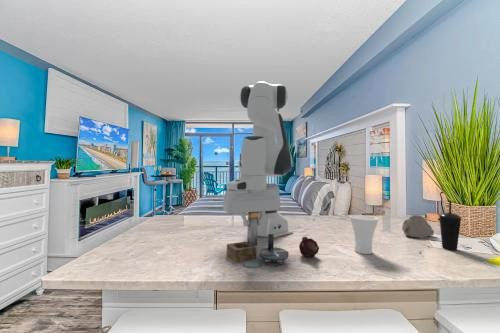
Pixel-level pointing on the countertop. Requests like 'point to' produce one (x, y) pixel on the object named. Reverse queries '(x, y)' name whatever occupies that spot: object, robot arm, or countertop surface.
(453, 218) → the drinking cup
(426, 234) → the pumice stone
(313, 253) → the maroon cone figure
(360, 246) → the cup
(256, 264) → the coaster
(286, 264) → the countertop surface
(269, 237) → the handwheel
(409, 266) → the countertop surface
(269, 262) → the wheel post
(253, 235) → the orange topped grey cylinder
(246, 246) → the block
